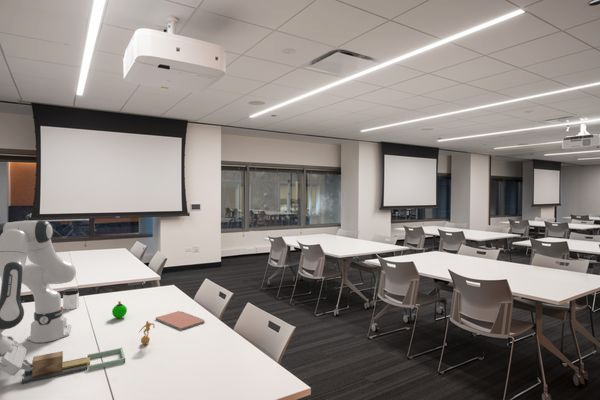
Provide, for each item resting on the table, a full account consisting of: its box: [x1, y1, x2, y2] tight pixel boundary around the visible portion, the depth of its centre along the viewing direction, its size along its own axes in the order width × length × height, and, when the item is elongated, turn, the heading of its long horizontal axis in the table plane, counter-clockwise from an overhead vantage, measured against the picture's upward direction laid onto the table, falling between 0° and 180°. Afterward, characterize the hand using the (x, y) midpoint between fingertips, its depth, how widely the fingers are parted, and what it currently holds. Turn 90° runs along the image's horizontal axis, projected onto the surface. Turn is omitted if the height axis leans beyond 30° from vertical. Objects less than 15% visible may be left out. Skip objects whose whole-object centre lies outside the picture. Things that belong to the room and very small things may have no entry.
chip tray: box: [86, 347, 126, 371], centre depth 160 cm, size 14×13×3 cm
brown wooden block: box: [31, 350, 64, 377], centre depth 149 cm, size 10×5×7 cm, turn 122°
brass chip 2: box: [77, 357, 91, 368], centre depth 156 cm, size 5×5×2 cm
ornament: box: [111, 300, 128, 319], centre depth 218 cm, size 8×8×10 cm
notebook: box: [155, 310, 205, 331], centre depth 213 cm, size 27×17×2 cm, turn 51°
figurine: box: [138, 320, 155, 345], centre depth 180 cm, size 8×6×12 cm
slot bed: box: [21, 356, 88, 385], centre depth 150 cm, size 22×11×2 cm, turn 122°
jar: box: [62, 287, 80, 311], centre depth 237 cm, size 9×8×12 cm
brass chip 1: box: [62, 359, 77, 370], centre depth 153 cm, size 5×5×2 cm
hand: (31, 368), depth 146 cm, fingers closed, pressing on brown wooden block
